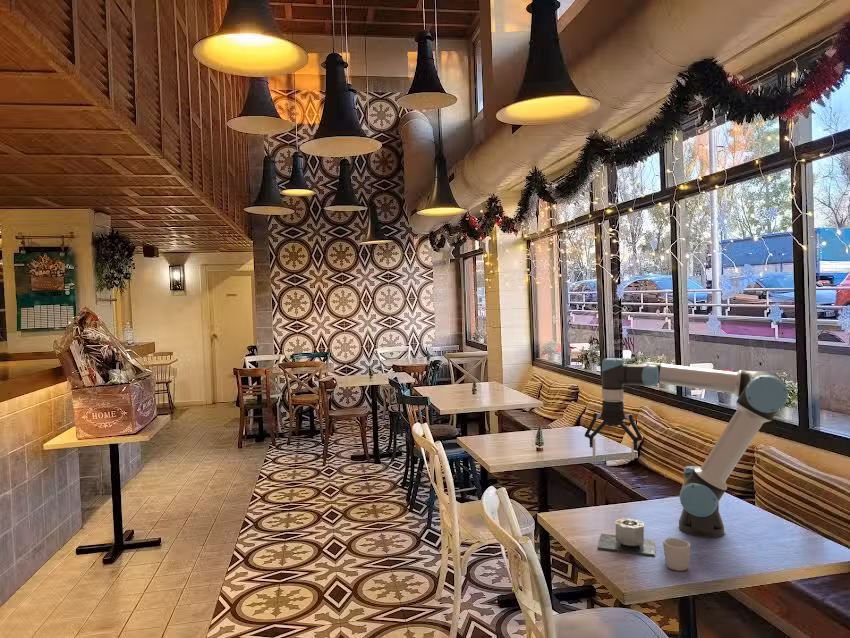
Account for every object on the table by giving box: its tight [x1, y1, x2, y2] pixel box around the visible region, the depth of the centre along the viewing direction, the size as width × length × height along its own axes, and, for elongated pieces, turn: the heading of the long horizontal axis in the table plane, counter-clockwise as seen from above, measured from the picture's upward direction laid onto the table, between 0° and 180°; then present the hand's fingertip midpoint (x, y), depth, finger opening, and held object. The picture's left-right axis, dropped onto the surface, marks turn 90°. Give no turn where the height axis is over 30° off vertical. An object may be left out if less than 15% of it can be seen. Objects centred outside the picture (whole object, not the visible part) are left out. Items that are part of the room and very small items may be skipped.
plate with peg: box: [597, 521, 656, 558], centre depth 204 cm, size 18×13×8 cm
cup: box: [662, 537, 692, 572], centre depth 188 cm, size 11×8×8 cm
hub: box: [615, 517, 645, 546], centre depth 204 cm, size 9×9×6 cm
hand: (613, 457), depth 218 cm, fingers open, 13 cm apart
